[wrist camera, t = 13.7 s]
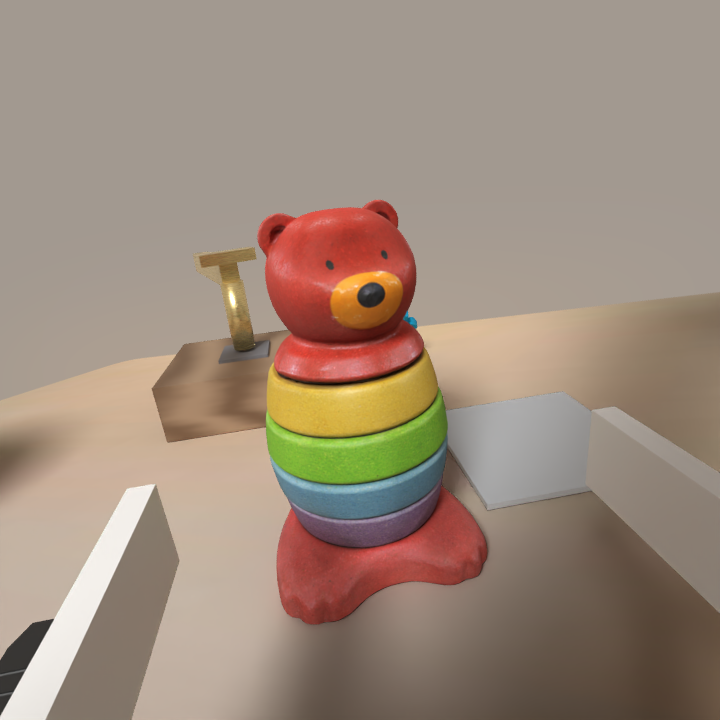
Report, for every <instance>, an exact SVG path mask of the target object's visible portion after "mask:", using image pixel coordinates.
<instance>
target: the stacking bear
mask: <svg viewBox="0 0 720 720" xmlns="http://www.w3.org/2000/svg"><path fill="white" fill-rule="evenodd" d="M397 227H398V217H397V213H396V211H395V210H394V208H393V207H392V206H391V205H390V204H389V203H387V202H385V201H382V200H374V201H371V202H369V203H367V204H366V205H365V206H364V207H363V208H351V207H350V208H336V209H327V210H321V211H315V212H311V213H307V214H305V215H302V216H300V217H298V218H293V217H291V216H288V215H286V214H281V213H278V214H273V215H270V216H269V217H267V218H266V219H265V220H264V221H263V222H262V223H261V225H260V227H259V230H258V243H259V246H260V248H261V249H262V250H263V252H264V253H265V255H266V257H267V259H266V267H265V276H266V284H267V289H268V293H269V296H270V300H271V302H272V305H273V307H274V309H275V311H276V313H277V315H278V316H279V318H280V319H281V321H282V322H283V323H284V325H285V326H286V327H287V329H288V330H289V331H290V332H291V333H292V334H290V335H289V336H288V337H287V338H285V339H284V341H283V342H282V343H281V344H280V346H279V348H278V350H277V352H276V355H275V358H274V363H273V364H272V365H271V367H270V370H269V373H268V381H267V413H266V435H267V444H268V450H269V454H270V459H271V463H272V466H273V469H274V472H275V474H276V477H277V479H278V482H279V484H280V487H281V488H282V490H283V492H284V494H285V495H286V496H287V498H288V501H289V503H290V505H291V507H292V508H291V510H290V512H289V515H288V517H287V519H286V521H285V524H284V526H283V529H282V532H281V536H280V540H279V545H278V551H277V581H278V587H279V593H280V598H281V602H282V605H283V607H284V609H285V611H286V612H287V614H289V615H290V616H292V617H295V618H300V619H302V621H304V622H305V623H307V624H320V623H323V622H332V621H337V620H340V619H342V618H344V617H346V616H347V615H349V614H350V613H351V612H353V611H354V610H355V609H356V608H357V606H359V605H360V604H361V603H362V602H363V601H364V600H365V599H366V598H368V597H369V596H370V595H372V594H373V593H375V592H377V591H378V590H380V589H382V588H385V587H387V586H390V585H394V584H398V583H402V582H408V581H422V582H429V583H436V584H443V585H454V584H457V583H460V582H462V581H463V580H465V579H468V578H473V577H476V576H478V575H479V573H480V571H481V569H482V564H483V563H484V561H485V560H486V557H487V546H486V542H485V538H484V535H483V533H482V532H481V530H480V528H479V526H478V524H477V523H476V521H475V520H474V518H473V517H472V515H471V514H470V513H469V512H468V510H467V509H466V508H465V507H464V506H463V505H462V504H461V503H460V501H459V500H457V499H456V498H455V497H454V496H453V495H452V494H451V493H450V492H449V491H447V490H446V489H445V488H444V487H442V486H441V485H442V478H443V471H444V467H445V461H446V453H447V442H448V434H447V430H448V421H447V416H446V410H445V405H444V400H443V396H442V393H441V390H440V389H439V387H438V383H437V378H436V374H435V371H434V368H433V365H432V362H431V359H430V357H429V354H428V352H427V350H426V349H425V348H424V342H423V339H422V337H421V335H420V334H419V333H418V331H417V330H416V329H415V328H414V327H413V326H412V325H410V324H409V323H408V322H406V321H404V320H403V318H404V316H405V315H406V313H407V311H408V309H409V307H410V304H411V302H412V299H413V296H414V292H415V286H416V265H415V260H414V256H413V253H412V251H411V249H410V247H409V245H408V243H407V241H406V240H405V238H404V237H403V235H402V234H401V233H400V231H399V230H398V229H397Z"/></svg>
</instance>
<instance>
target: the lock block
mask: <svg viewBox="0 0 720 720" xmlns="http://www.w3.org/2000/svg"><path fill="white" fill-rule="evenodd" d="M290 334H292V333H291V332H290V331H289V330H284V331H276V332H269V333H262V334H255V335H253V336H254V341H255V347H253V348H251V349H247V350H241V351H238V350H234V347H233V342H232V338H226V339H219V340H211V341H204V342H197V343H189V344H184V345H183V347H182V348H181V350H180V351H179V352H178V354H177V355H176V356H175V358H174V359H173V360H172V362H171V363H170V365H169V366H168V367H167V369H166V370H165V371H164V373H163V374H162V376H161V377H160V378H159V380H158V381H157V382H156V384H155V385H154V387H153V388H152V391H153V395H154V398H155V402H156V405H157V409H158V412H159V415H160V419H161V422H162V426H163V429H164V433H165V436H166V440H167V442H173V441H179V440H185V439H192V438H198V437H204V436H211V435H217V434H223V433H229V432H236V431H242V430H248V429H255V428H261V427H266V413H267V381H268V373H269V370H270V367H271V365H272V364H273V363H274V358H275V355H276V352H277V350H278V348H279V346H280V344H281V343H282V342H283V341H284V339H285V338H287V337H288V336H289V335H290Z"/></svg>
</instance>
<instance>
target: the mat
mask: <svg viewBox="0 0 720 720" xmlns="http://www.w3.org/2000/svg"><path fill="white" fill-rule="evenodd" d="M591 415H592V411H590V410H589V409H588V408H586V407H585V406H583V405H582V404H580V403H579V402H578V401H576V400H575V399H573V398H572V397H570V396H569V395H568V394H566V393H565V392H563V391H562V392H556V393H550V394H544V395H538V396H532V397H525V398H519V399H513V400H507V401H501V402H495V403H488V404H482V405H476V406H470V407H464V408H458V409H451V410H446V416H447V421H448V430H447V434H448V442H447V447H448V449H449V451H450V452H451V454H452V455H453V457H454V458H455V460H456V462H457V463H458V465H459V466H460V468H461V470H462V471H463V473H464V474H465V476H466V477H467V479H468V481H469V482H470V484H471V485H472V487H473V488H474V490H475V492H476V493H477V495H478V496H479V498H480V499H481V501H482V503H483V504H484V506H485V507H486V509H487V510H492V509H497V508H502V507H508V506H513V505H518V504H524V503H529V502H534V501H540V500H545V499H550V498H556V497H561V496H566V495H572V494H577V493H582V492H588V491H592V490H591V489H590V488H589V487H588V486H587V485H586V484H585V481H586V470H587V459H588V448H589V437H590V426H591Z"/></svg>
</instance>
